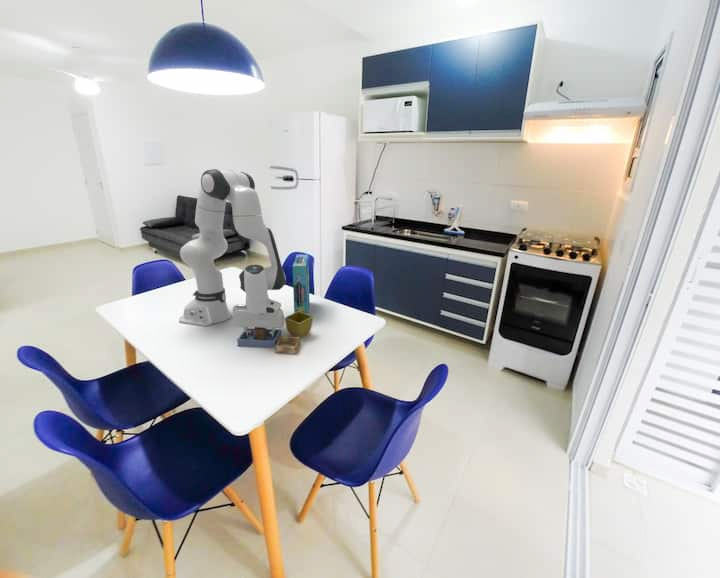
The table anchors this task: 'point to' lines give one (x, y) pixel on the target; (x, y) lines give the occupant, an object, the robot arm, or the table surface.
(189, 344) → the table surface
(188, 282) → the table surface
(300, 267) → the game box
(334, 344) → the table surface
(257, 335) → the walnut block
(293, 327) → the flower pot
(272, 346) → the blue tray
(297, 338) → the wooden serving tray
